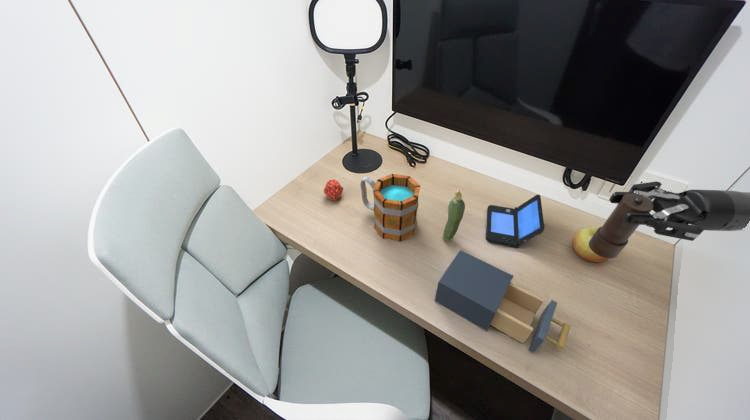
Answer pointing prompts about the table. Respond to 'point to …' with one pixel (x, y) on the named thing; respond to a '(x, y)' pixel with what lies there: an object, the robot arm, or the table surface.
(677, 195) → the robot arm
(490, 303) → the cabinet
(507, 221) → the game console
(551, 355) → the table surface
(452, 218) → the vegetable
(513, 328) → the drawer
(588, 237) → the apple
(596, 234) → the pepper mill
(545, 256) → the table surface
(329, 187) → the red bumpy fruit
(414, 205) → the mug
